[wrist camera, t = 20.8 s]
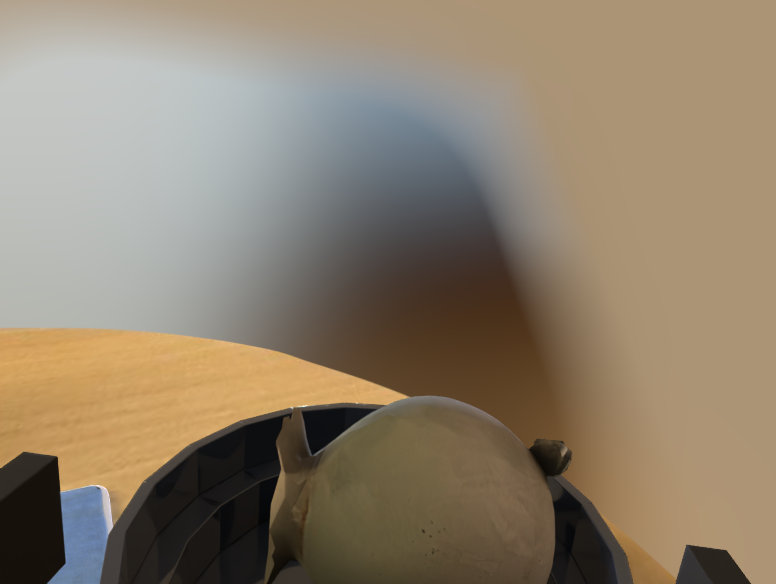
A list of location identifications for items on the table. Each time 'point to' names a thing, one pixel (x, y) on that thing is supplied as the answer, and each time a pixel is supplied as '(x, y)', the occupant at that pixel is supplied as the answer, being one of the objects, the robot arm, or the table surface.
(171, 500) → the dark grey dish
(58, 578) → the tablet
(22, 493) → the robot arm
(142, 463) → the table surface
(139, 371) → the table surface
